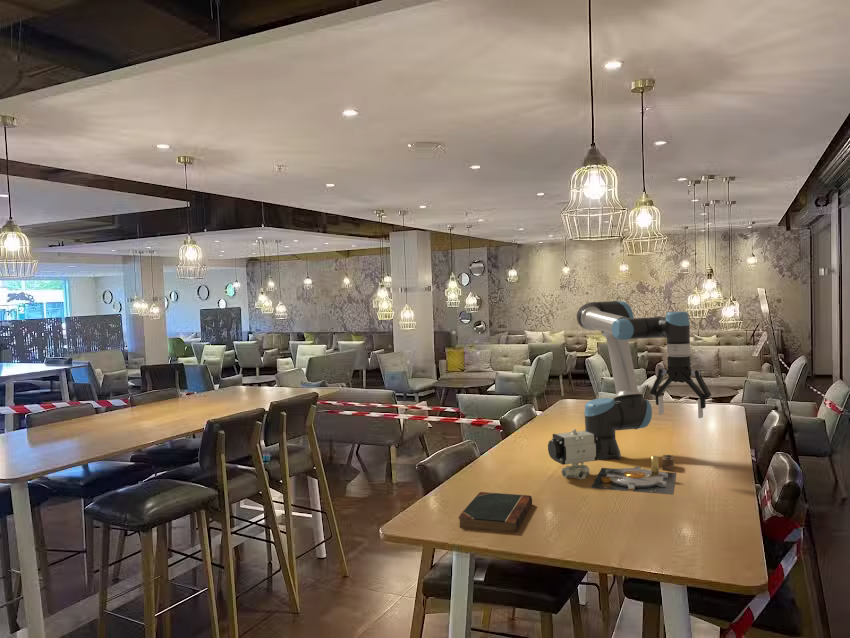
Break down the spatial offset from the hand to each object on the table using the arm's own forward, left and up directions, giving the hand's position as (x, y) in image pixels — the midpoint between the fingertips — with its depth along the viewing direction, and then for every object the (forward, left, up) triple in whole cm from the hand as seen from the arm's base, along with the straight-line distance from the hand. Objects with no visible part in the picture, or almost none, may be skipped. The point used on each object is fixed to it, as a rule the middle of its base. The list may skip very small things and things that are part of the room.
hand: (680, 416), depth 224 cm
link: (-5, +9, -22) cm, 25 cm away
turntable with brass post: (-15, -10, -21) cm, 28 cm away
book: (-51, -55, -23) cm, 78 cm away
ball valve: (-35, -10, -22) cm, 43 cm away
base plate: (-15, -10, -22) cm, 29 cm away
